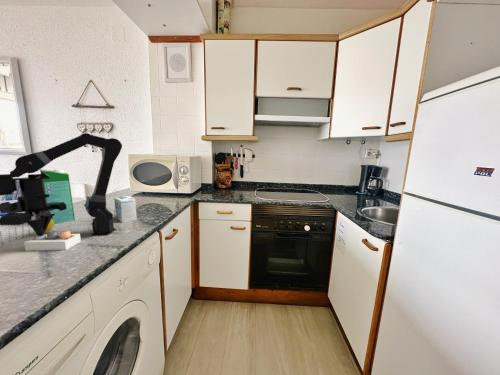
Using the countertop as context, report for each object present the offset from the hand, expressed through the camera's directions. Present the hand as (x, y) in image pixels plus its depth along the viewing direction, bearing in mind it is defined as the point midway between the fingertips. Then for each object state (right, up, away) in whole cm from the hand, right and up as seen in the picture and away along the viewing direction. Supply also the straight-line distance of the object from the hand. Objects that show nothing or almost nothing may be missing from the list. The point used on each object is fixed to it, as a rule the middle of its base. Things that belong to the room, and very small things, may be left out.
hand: (40, 235), depth 74 cm
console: (+4, -4, +1) cm, 6 cm away
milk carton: (-18, +1, +28) cm, 33 cm away
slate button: (0, -3, 0) cm, 3 cm away
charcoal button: (+4, -2, +1) cm, 4 cm away
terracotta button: (+8, -2, +1) cm, 8 cm away
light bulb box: (+12, +1, +31) cm, 33 cm away
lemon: (-10, -2, +12) cm, 15 cm away
